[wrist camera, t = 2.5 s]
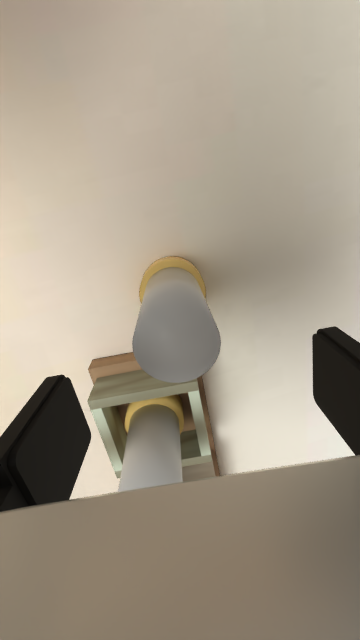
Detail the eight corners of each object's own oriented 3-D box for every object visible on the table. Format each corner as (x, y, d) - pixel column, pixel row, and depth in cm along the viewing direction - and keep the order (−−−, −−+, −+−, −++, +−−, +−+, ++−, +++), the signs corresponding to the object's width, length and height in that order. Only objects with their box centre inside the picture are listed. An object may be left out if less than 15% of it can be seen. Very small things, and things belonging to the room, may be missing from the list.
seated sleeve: (121, 390, 23) (92, 510, 14) (177, 380, 23) (184, 494, 14) (135, 432, 25) (117, 563, 16) (186, 423, 25) (199, 549, 16)
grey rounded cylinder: (135, 263, 21) (110, 306, 12) (197, 250, 21) (222, 285, 12) (149, 320, 23) (137, 397, 13) (206, 309, 23) (234, 379, 13)
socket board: (92, 359, 24) (77, 392, 20) (194, 340, 24) (201, 369, 19) (145, 509, 31) (142, 555, 27) (223, 495, 31) (232, 540, 27)
